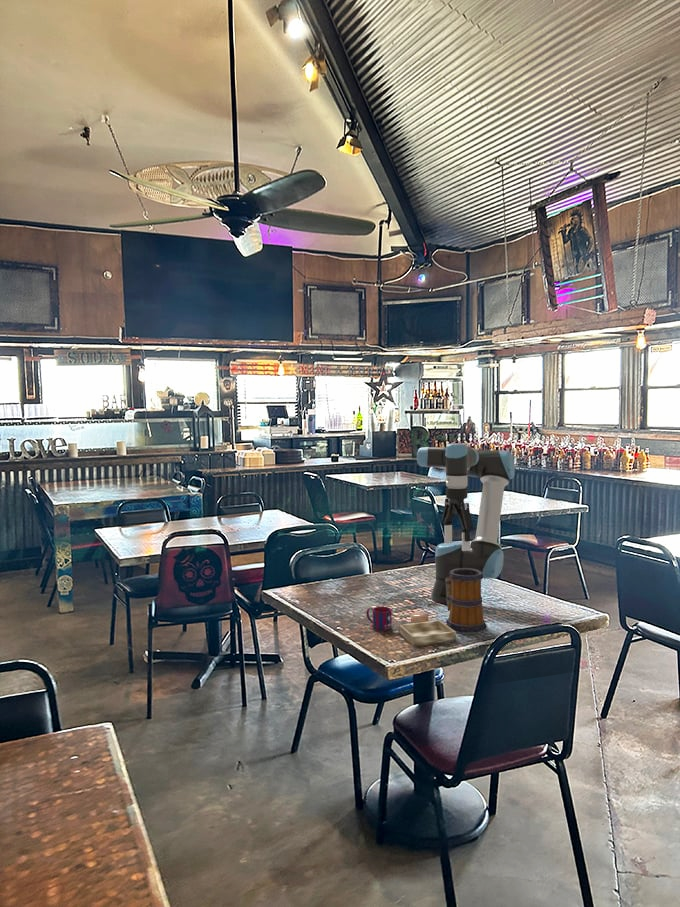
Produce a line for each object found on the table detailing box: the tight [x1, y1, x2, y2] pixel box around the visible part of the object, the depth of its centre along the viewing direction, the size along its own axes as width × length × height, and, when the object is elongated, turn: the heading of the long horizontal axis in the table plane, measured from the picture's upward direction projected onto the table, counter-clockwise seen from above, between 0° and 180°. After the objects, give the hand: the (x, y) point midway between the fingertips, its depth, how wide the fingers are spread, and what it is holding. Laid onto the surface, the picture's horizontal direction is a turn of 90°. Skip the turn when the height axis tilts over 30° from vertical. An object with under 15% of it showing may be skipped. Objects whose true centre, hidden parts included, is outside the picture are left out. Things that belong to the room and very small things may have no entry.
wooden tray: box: [398, 619, 457, 647], centre depth 216 cm, size 16×13×3 cm
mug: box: [445, 568, 488, 635], centre depth 227 cm, size 19×14×20 cm
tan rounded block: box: [410, 611, 429, 624], centre depth 230 cm, size 6×6×4 cm
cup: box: [366, 606, 393, 632], centre depth 227 cm, size 7×10×7 cm
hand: (456, 546), depth 225 cm, fingers open, 13 cm apart
